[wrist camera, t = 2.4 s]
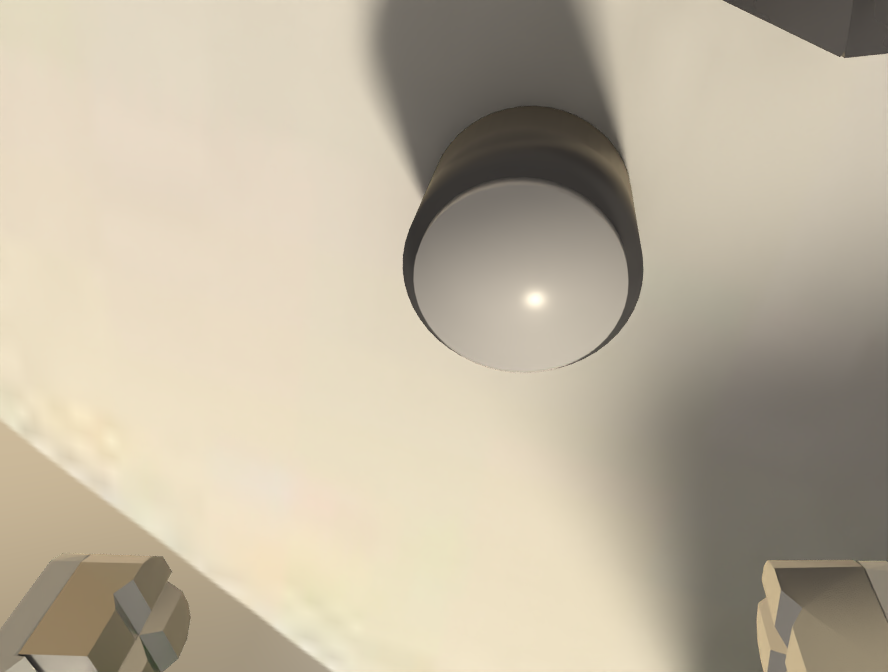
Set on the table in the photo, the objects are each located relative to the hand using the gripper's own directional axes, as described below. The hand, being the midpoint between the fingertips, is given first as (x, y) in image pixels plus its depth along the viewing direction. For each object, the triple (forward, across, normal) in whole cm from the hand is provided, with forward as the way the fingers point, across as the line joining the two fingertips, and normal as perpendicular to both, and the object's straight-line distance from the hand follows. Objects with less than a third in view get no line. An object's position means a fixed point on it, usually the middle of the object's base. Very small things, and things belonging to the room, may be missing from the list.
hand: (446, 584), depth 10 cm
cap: (+12, -1, 0) cm, 12 cm away
